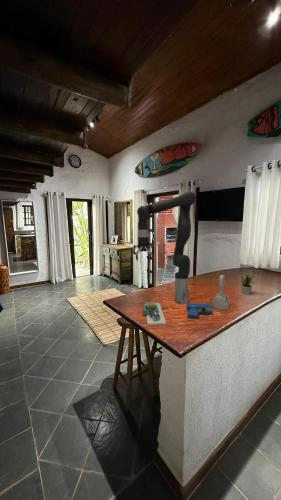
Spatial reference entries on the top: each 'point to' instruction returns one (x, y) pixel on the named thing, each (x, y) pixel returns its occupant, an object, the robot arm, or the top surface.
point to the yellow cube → (150, 305)
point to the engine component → (221, 296)
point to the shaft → (154, 315)
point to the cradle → (146, 312)
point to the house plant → (246, 284)
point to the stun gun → (198, 310)
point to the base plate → (161, 321)
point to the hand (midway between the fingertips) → (143, 260)
